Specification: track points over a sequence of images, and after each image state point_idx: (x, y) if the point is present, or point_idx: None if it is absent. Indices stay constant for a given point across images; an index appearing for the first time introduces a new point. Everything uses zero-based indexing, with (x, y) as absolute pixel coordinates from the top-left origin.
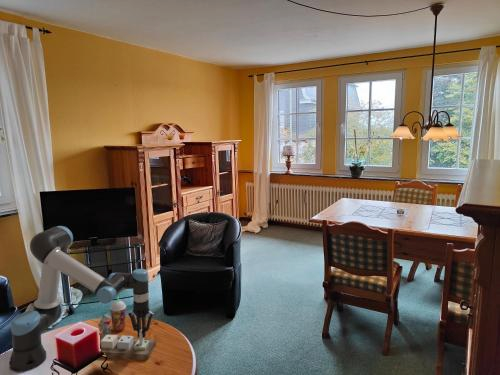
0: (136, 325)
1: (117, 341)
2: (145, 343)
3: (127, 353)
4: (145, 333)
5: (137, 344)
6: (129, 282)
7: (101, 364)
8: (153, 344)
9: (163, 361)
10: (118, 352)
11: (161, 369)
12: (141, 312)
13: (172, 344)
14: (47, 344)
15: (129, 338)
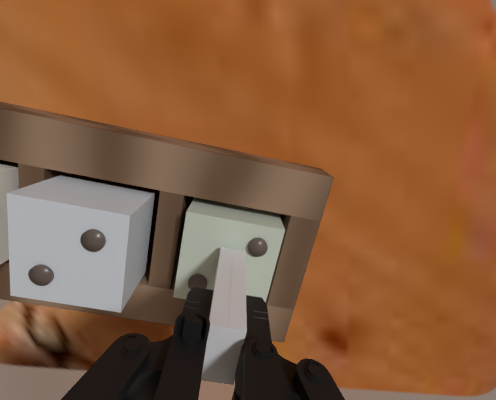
0: (120, 393)
1: (8, 174)
2: (258, 265)
3: (147, 320)
4: (267, 329)
5: (197, 279)
6: None
7: (24, 326)
8: (314, 238)
9: (366, 331)
10: (80, 308)
11: (354, 383)
12: None
13: (434, 176)
14: None
15: (105, 253)
